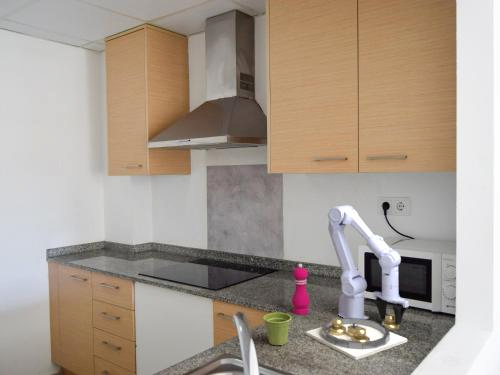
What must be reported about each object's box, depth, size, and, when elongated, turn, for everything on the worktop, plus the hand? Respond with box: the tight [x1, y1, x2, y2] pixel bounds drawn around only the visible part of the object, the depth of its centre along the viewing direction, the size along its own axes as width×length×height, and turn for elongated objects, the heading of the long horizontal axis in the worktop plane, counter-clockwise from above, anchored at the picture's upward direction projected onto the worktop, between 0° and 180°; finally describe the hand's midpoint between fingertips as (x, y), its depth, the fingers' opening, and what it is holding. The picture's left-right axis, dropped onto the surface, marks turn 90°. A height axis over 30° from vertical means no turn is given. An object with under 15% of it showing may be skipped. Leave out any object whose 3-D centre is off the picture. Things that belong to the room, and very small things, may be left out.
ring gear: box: [321, 317, 390, 349], centre depth 143 cm, size 22×22×2 cm
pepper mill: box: [291, 263, 311, 316], centre depth 170 cm, size 7×7×20 cm
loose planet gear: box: [381, 312, 400, 331], centre depth 153 cm, size 6×6×4 cm
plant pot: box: [263, 312, 292, 346], centre depth 141 cm, size 9×9×9 cm
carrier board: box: [305, 324, 408, 361], centre depth 143 cm, size 24×24×1 cm
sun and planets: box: [329, 317, 370, 342], centre depth 142 cm, size 17×9×4 cm, turn 32°
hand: (390, 321), depth 153 cm, fingers open, 6 cm apart
